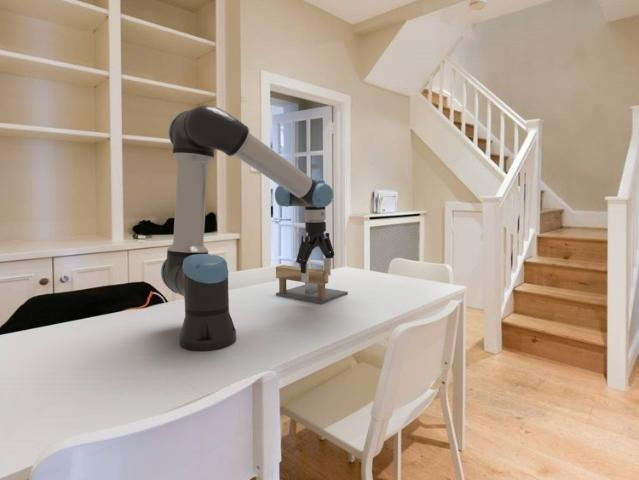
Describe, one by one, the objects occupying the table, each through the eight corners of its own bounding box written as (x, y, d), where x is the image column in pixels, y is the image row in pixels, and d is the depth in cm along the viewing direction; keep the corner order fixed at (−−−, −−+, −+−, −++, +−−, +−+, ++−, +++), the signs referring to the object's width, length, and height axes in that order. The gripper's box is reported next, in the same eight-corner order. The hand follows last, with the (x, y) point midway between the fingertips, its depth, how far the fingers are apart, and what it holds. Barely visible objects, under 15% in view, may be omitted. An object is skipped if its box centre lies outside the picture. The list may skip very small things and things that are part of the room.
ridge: (309, 296, 163) (309, 279, 162) (305, 296, 165) (304, 278, 164) (324, 291, 171) (324, 274, 170) (320, 291, 173) (320, 274, 172)
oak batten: (321, 285, 152) (320, 272, 152) (276, 277, 165) (275, 266, 165) (328, 282, 156) (328, 270, 155) (283, 276, 169) (283, 265, 168)
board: (320, 304, 153) (320, 285, 152) (275, 295, 166) (275, 278, 165) (347, 294, 167) (347, 276, 166) (304, 287, 180) (304, 270, 179)
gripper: (301, 224, 141) (303, 286, 144) (343, 219, 161) (343, 273, 164) (285, 223, 146) (286, 283, 149) (327, 218, 166) (327, 271, 168)
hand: (316, 278), depth 156 cm, fingers open, 13 cm apart
